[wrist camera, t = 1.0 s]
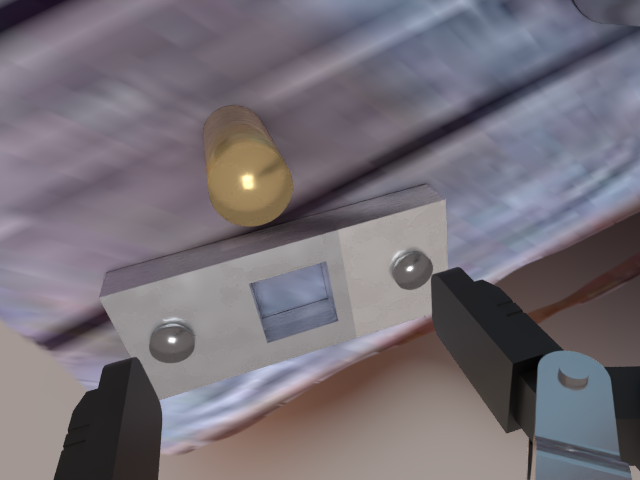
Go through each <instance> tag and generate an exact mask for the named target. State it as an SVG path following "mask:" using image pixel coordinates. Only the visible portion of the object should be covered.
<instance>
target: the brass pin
mask: <svg viewBox="0 0 640 480" xmlns="http://www.w3.org/2000/svg"><path fill="white" fill-rule="evenodd" d="M203 144H204V153H205V163H206V172H207V181H208V190H209V197H210V200H211V203H212V205H213V207H214V208H215V210H216V211H217V212H218V213H219V214H220V215H221V216H222V217H223V218H224V219H226V220H227V221H229V222H231V223H234V224H236V225H240V226H259V225H263V224H266V223H268V222H270V221H272V220H274V219H275V218H277V217H278V216H279V215H280V214H281V213H282V212H283V211H284V210H285V208H286V207H287V205H288V204H289V201H290V199H291V196H292V191H293V181H292V176H291V173H290V171H289V169H288V167H287V165H286V163H285V162H284V160H283V158H282V156H281V155H280V153H279V151H278V149H277V148H276V146H275V144H274V142H273V141H272V139H271V137H270V135H269V134H268V132H267V130H266V128H265V127H264V125H263V123H262V121H261V120H260V118H259V117H258V116H257V115H256V114H255V113H254V112H252V111H251V110H249V109H247V108H245V107H242V106H235V105H232V106H225V107H222V108H220V109H218V110H216V111H215V112H214V113H213V114H211V116H210V117H209V118H208V119H207V121H206V123H205V125H204V129H203Z"/></svg>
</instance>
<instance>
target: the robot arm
mask: <svg viewBox="0 0 640 480" xmlns="http://www.w3.org/2000/svg"><path fill="white" fill-rule="evenodd" d="M574 2H575V4H576V5H577V7H578V8H579V10H580V11H581V12H582V13H583V14H584V15H585V16H587V17H588V18H589V19H591V20H593V21H596V22H599V23H604V24H616V25H629V26H640V0H574ZM431 301H432V319H433V324H434V327H435V330H436V332H437V335H438V336H439V338H440V339H441V341H442V342H443V344H444V345H445V347H446V348H447V350H448V351H449V352H450V354H451V355H452V357H453V358H454V360H455V361H456V362H457V364H458V365H459V366H460V368H461V369H462V371H463V372H464V374H465V375H466V377H467V378H468V379H469V381H470V382H471V384H472V385H473V386H474V388H475V389H476V391H477V392H478V394H479V395H480V396H481V398H482V399H483V401H484V402H485V403H486V405H487V406H488V408H489V409H490V411H491V412H492V413H493V415H494V416H495V418H496V419H497V421H498V422H499V423H500V425H501V426H502V428H503V429H504V431H505V432H506V433H509V432H512V431H515V430H518V429H521V428H522V429H523V431H524V432H525V433H526V435H527V436H528V437H529V440H528V451H527V470H526V480H632V477H631V471H630V468H629V466H636V467H637V468H638V469H639V471H640V366H639V367H638V366H637V367H603V366H602V365H601V364H600V363H598V362H597V361H596V360H594V359H592V358H591V357H589V356H586V355H584V354H581V353H578V352H573V351H564V350H563V349H562V348H561V347H560V346H559V345H558V344H557V343H556V342H555V341H554V340H553V339H552V338H550V336H548V335H547V334H546V333H545V332H544V331H543V330H542V329H541V328H540V327H539V326H538V325H537V324H536V323H535V322H534V321H533V320H532V319H531V318H530V317H529V316H528V315H527V314H526V313H523V311H522V309H521V308H520V307H519V306H518V305H517V304H516V303H513V301H512V299H511V298H510V297H509V296H507V295H506V294H505V293H504V292H503V291H502V290H501V289H500V288H499V287H497V286H495V285H492V284H490V283H488V282H486V281H484V280H479V281H475V282H474V281H473V280H472V279H471V278H470V277H469V276H468V275H467V274H466V273H465V272H464V271H463V270H462V269H461V268H459V267H457V268H453V269H449V270H446V271H442V272H439V273H435V274H433V275H432V276H431ZM161 431H162V410H161V405H160V401H159V398H158V396H157V394H156V392H155V390H154V388H153V386H152V384H151V382H150V380H149V378H148V376H147V374H146V372H145V370H144V368H143V366H142V364H141V362H140V360H139V359H138V358H137V357H132V358H129V359H125V360H122V361H118V362H115V363H111V364H108V365H105V366H104V368H103V370H102V374H101V378H100V382H99V387H98V389H95V390H91V391H88V392H86V393H85V395H84V396H83V398H82V399H81V401H80V402H79V403H78V405H77V406H76V408H75V409H74V411H73V413H72V417H71V421H70V424H69V427H68V434H67V435H66V438H65V442H64V445H63V447H64V450H63V451H62V452H61V455H60V459H59V463H58V466H57V469H56V473H55V476H54V480H158V472H159V458H160V445H161Z"/></svg>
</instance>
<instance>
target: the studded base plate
mask: <svg viewBox="0 0 640 480" xmlns="http://www.w3.org/2000/svg"><path fill="white" fill-rule="evenodd" d="M319 263H321V267H322V272H323V277H324V282H325V287H326V291H327V296H328V299H325V300H322V301H318V302H315V303H312V304H308V305H305V306H302V307H299V308H295V309H292V310H289V311H285V312H282V313H279V314H275V315H272V316H269V317H266V318H261V314H260V311H259V308H258V305H257V302H256V298H255V295H254V292H253V289H252V286H251V283H254V282H257V281H261V280H264V279H267V278H271V277H274V276H278V275H281V274H284V273H288V272H291V271H295V270H298V269H302V268H305V267H308V266H312V265H315V264H319ZM446 270H448V255H447V224H446V199H445V198H443V197H442V196H441V195H440V194H438V193H437V192H436V191H435V190H434V189H432V188H431V187H430V186H429V185H427V184H424V185H421V186H417V187H414V188H410V189H406V190H403V191H399V192H396V193H392V194H388V195H385V196H381V197H378V198H374V199H370V200H367V201H363V202H360V203H356V204H352V205H349V206H345V207H342V208H338V209H334V210H331V211H327V212H324V213H320V214H316V215H313V216H309V217H306V218H302V219H298V220H295V221H291V222H287V223H284V224H280V225H277V226H273V227H269V228H266V229H262V230H259V231H255V232H251V233H248V234H244V235H241V236H237V237H233V238H230V239H226V240H223V241H219V242H215V243H212V244H208V245H205V246H201V247H197V248H194V249H190V250H187V251H183V252H179V253H176V254H172V255H169V256H165V257H161V258H158V259H154V260H150V261H147V262H143V263H140V264H136V265H132V266H129V267H125V268H122V269H118V270H114V271H111V272H107V273H106V275H105V278H104V282H103V285H102V289H101V292H100V296H99V299H100V301H101V302H102V304H103V306H104V308H105V310H106V312H107V314H108V315H109V317H110V319H111V321H112V323H113V325H114V327H115V328H116V330H117V332H118V334H119V336H120V338H121V340H122V341H123V343H124V345H125V347H126V349H127V351H128V353H129V354H130V356H131V358H132V357H137V358H138V359H139V360H140V362H141V364H142V366H143V368H144V370H145V372H146V374H147V376H148V378H149V380H150V382H151V384H152V386H153V388H154V390H155V392H156V394H157V396H158V398H159V400H162V399H165V398H168V397H171V396H174V395H178V394H181V393H184V392H187V391H190V390H193V389H196V388H200V387H203V386H206V385H209V384H212V383H215V382H218V381H222V380H225V379H228V378H231V377H234V376H237V375H240V374H244V373H247V372H250V371H253V370H256V369H259V368H262V367H266V366H269V365H272V364H275V363H278V362H281V361H284V360H288V359H291V358H294V357H297V356H300V355H303V354H306V353H310V352H313V351H316V350H319V349H322V348H325V347H328V346H332V345H335V344H338V343H341V342H344V341H347V340H350V339H354V338H357V337H360V336H363V335H366V334H369V333H372V332H376V331H379V330H382V329H385V328H388V327H391V326H394V325H398V324H401V323H404V322H407V321H410V320H413V319H416V318H420V317H423V316H426V315H429V314H432V301H431V276H432V275H433V274H435V273H439V272H442V271H446Z"/></svg>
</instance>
